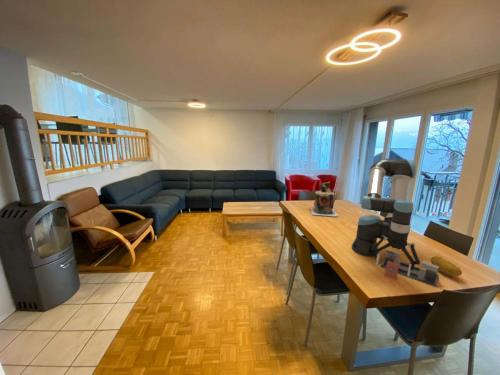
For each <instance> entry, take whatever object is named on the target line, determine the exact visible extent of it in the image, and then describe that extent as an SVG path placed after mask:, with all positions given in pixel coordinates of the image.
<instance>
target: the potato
mask: <svg viewBox="0 0 500 375" xmlns="http://www.w3.org/2000/svg"><path fill="white" fill-rule="evenodd" d="M430 264H433V265H436V266H438V267H439V270H438V272H439V273H441V274H444V275H447V276H449V277H460V276H461V275H463V270H462V269H461V268H460V267H459V266H457V265H455V263H452V262H450V261H449V260H446V259H445V258H443V257H441V256H439V255H433V256H431V257H430Z"/></svg>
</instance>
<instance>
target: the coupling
mask: <svg viewBox="0 0 500 375" xmlns="http://www.w3.org/2000/svg"><path fill="white" fill-rule="evenodd" d="M398 269H399V264H397V263H394V262H391V261H388V262H387V264H386V269H385V270H384V277H386V278H389V279H392V280H394V281H396V280H397V278H398V274H399V273H398Z"/></svg>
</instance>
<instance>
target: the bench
mask: <svg viewBox="0 0 500 375" xmlns="http://www.w3.org/2000/svg"><path fill="white" fill-rule="evenodd" d="M400 257H401V253H399V252H394V251H392V250H391V251H390V250H387V249H386V250H385V257H384V259H383V260H382V262H381V264H380V265H379V266H380V268H383V269H385V270H386V264H387V262H388V261H391V262H394V263H397V264H399V269H398V274H400V275H402V276H405V277H408V278H411V279H413V280H416V281H419V282H422V283H424V284H427V285H430V286H432V287H435V288H438V282H439V274H438V273H439V271H438V270H439V267H438V266H436V265H433V264H432V263H431V262H427V261H425V260H422V262H420V267H417V266H416V265H415V266H414V270H413V271H412V270H410V275H409V276H407V274H408V269H409V264H410V263H409V264H408V263H406V262H403V261H400V259H401V258H400Z"/></svg>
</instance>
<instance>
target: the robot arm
mask: <svg viewBox="0 0 500 375" xmlns="http://www.w3.org/2000/svg"><path fill="white" fill-rule="evenodd" d="M416 169H417V167H416V162H415V161H414V160H413V159H407V158H403V159H401V158H383V159H382V158H381V159H379V160H376V161H375V162H374V163H373V164H372V165H371V166H370V168H369V171H368V175H369V179H368V186H367V191H366V195H363V196H362V198H361V203H360V207H361V209H364V210H368V211H373V212H381V213H385V214H387V215H386V216H385V217H384V218H383V220H382V219H381V217H380V216H378V215H372V214H364V215H361V216H359V218H358V222H357V230H356V236H355V238H354V240H353V242H352V243H351V249H352V251H354V252H355V253H357V254H359V255H362V256H366V257H374V258H375V259H376V262H375V265H376V266H379V262H380V257H381V252H382V251H383V250H385V249H386V250H387V248H389V247H390V248H391V249H392V248H393V249H396V250H401V252H402V253H404V255H405V256H406V258H407V259H408V261H409V269H408V274H407V276H409V275H410V270H412V271H413V270H414V266H415V267H416V265H417V266H419V265H420V266H421V261H420V258H419V256H418V253H417V250H416V248H415V246H416V244H415V243H414V242H413V243H410V242H409V243H408V237H409V235H410V231H411V220H412V214H413V212H414V202H412V201H410V200H408V199H407V196H408V190H409V189H408V188H409V182H411V181H412V179H414V178H415V176H416V171H417V170H416ZM384 177H389V180H390V181H391V184H390V185H391V187H390V194H389V198H385V197H382V194H383V187H384V186H383V185H384ZM378 239H379V241H377V240H378ZM385 241H387V243H386V244H384V245H382V246H381V247H379V246H380V245H381V243H383V242H385ZM406 247H408V248H409V249H410V252H411V254H412V255H411V254H410V252H409V251H408V249H407V248H406ZM412 256H413V257H412ZM407 276H406V277H407Z"/></svg>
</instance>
